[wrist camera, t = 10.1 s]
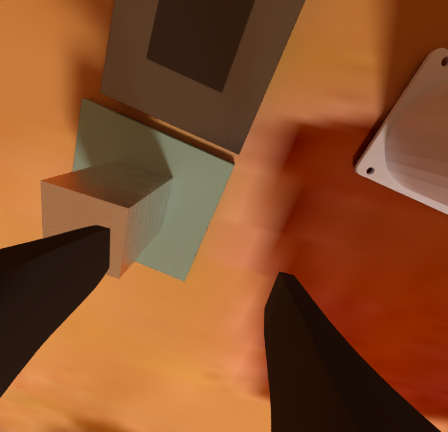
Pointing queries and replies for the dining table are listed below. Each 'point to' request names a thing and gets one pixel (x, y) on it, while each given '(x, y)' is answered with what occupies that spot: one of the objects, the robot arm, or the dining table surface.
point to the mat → (164, 164)
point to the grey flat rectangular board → (197, 61)
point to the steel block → (108, 207)
